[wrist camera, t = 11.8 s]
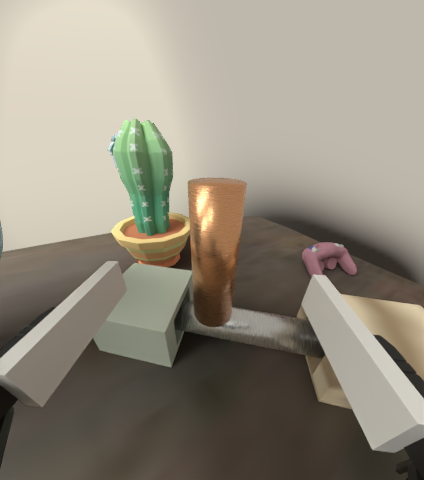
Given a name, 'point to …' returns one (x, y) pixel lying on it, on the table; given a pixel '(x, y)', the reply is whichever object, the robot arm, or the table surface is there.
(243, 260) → the table surface
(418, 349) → the block
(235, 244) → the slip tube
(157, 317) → the socket block
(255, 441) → the table surface
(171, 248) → the potted cactus
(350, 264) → the video game controller
